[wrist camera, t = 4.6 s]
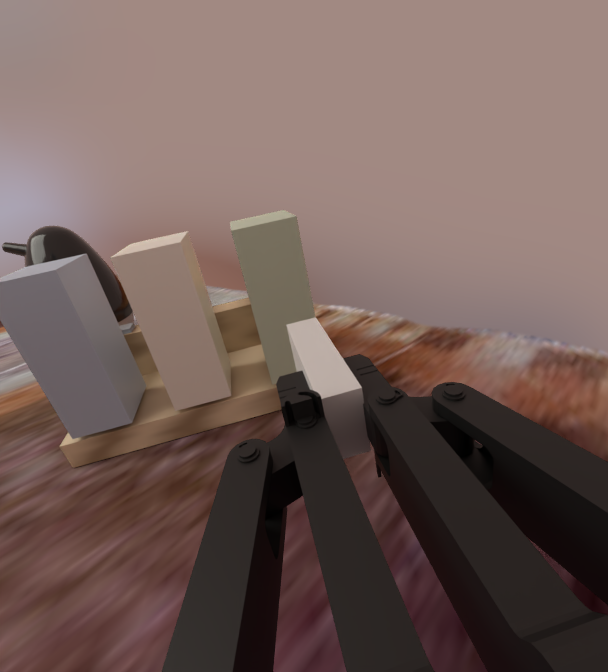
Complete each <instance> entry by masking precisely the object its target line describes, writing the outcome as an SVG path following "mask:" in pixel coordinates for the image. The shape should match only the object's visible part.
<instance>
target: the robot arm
mask: <svg viewBox="0 0 608 672" xmlns="http://www.w3.org/2000/svg"><path fill="white" fill-rule="evenodd" d="M286 326H287V331H288V335H289V339H290V344H291V348H292V352H293V357H294V361H295V366H296V370H297V372H294V373H291V374H287V375H283V376H280V377H279V378H278V381H277V383H276V386H277V391H278V395H279V399H280V403H281V409H282V413H283V417H284V421H285V426H284V429H283V431H282V432H281V433H280V434H279V435H278V436H277V437H276V438H275V439H273V440H272V441H270V442H268V443H266V442H265V441H263V440H260V439H250V440H246V441H243V442H241V443H239V444H238V445H236V446H235V447H234V448H233V449H232V450H231V451H230V453H229V455H228V457H227V460H226V463H225V467H224V470H223V473H222V476H221V480H220V483H219V486H218V489H217V493H216V496H215V499H214V502H213V506H212V509H211V512H210V516H209V519H208V522H207V525H206V529H205V532H204V535H203V538H202V542H201V545H200V548H199V551H198V555H197V558H196V561H195V565H194V568H193V571H192V574H191V578H190V581H189V584H188V587H187V591H186V594H185V597H184V600H183V604H182V607H181V610H180V614H179V617H178V620H177V623H176V627H175V630H174V633H173V636H172V640H171V643H170V646H169V649H168V653H167V656H166V659H165V662H164V666H163V669H162V672H273V665H274V654H275V642H276V631H277V620H278V608H279V597H280V586H281V574H282V563H283V551H284V540H285V529H286V517H287V506H288V505H289V504H291V503H292V502H294V501H295V500H297V499H298V498H300V497H301V496H303V497H304V501H305V505H306V509H307V513H308V517H309V521H310V525H311V529H312V533H313V537H314V541H315V545H316V550H317V554H318V558H319V562H320V566H321V570H322V574H323V578H324V582H325V586H326V590H327V594H328V598H329V602H330V606H331V610H332V614H333V618H334V622H335V626H336V630H337V634H338V638H339V642H340V646H341V650H342V654H343V658H344V663H345V667H346V671H347V672H435V671H434V670H433V668H432V666H431V665H430V663H429V660H428V658H427V656H426V654H425V651H424V649H423V647H422V644H421V642H420V640H419V637H418V635H417V632H416V630H415V628H414V625H413V623H412V621H411V618H410V616H409V614H408V611H407V609H406V606H405V604H404V602H403V599H402V597H401V595H400V592H399V590H398V588H397V585H396V583H395V581H394V578H393V576H392V573H391V571H390V569H389V566H388V564H387V562H386V559H385V557H384V555H383V552H382V550H381V547H380V545H379V543H378V540H377V538H376V536H375V533H374V531H373V529H372V526H371V524H370V522H369V519H368V517H367V514H366V512H365V510H364V507H363V505H362V503H361V500H360V498H359V496H358V493H357V491H356V489H355V486H354V484H353V481H352V479H351V477H350V474H349V472H348V470H347V467H346V465H345V463H344V460H343V459H345V458H348V457H351V456H355V455H358V454H361V453H365V452H368V451H371V450H370V442H371V444H372V446H373V447H374V452H375V460H376V467H377V474H378V477H381V471H382V473H383V475H384V477H385V479H386V481H387V482H388V484H389V486H390V488H391V490H392V492H393V494H394V496H395V498H396V499H397V501H398V503H399V505H400V507H401V509H402V511H403V513H404V514H405V516H406V518H407V520H408V522H409V524H410V526H411V528H412V530H413V531H414V533H415V535H416V537H417V539H418V541H419V543H420V545H421V547H422V548H423V550H424V552H425V554H426V556H427V558H428V560H429V562H430V564H431V565H432V567H433V569H434V571H435V573H436V575H437V577H438V579H439V580H440V582H441V584H442V586H443V588H444V590H445V592H446V594H447V596H448V597H449V599H450V601H451V603H452V605H453V607H454V609H455V611H456V613H457V614H458V616H459V618H460V620H461V622H462V624H463V626H464V628H465V630H466V631H467V633H468V635H469V637H470V639H471V641H472V643H473V645H474V646H475V648H476V650H477V652H478V654H479V656H480V658H481V660H482V662H483V663H484V665H485V667H486V669H487V671H488V672H608V615H605V614H601V613H597V612H593V611H591V610H590V609H588V608H587V607H586V606H585V605H584V604H583V603H582V602H581V601H580V600H579V599H578V598H577V597H576V596H575V594H574V593H573V592H572V591H571V590H570V589H569V587H568V586H567V585H566V584H565V583H564V581H563V580H562V579H561V578H560V577H559V575H558V574H557V573H556V572H555V571H554V569H553V568H552V567H551V566H550V565H549V563H548V562H547V561H546V560H545V559H544V558H543V556H542V555H541V554H540V553H539V552H538V550H537V549H536V548H535V547H534V546H533V544H532V543H531V542H530V541H529V540H528V538H529V539H530V540H531V541H533V542H534V543H535V544H536V545H537V546H539V547H540V548H541V549H542V550H543V551H544V552H546V553H547V554H548V555H549V556H550V557H552V558H553V559H554V560H555V561H556V562H558V563H559V564H560V565H561V566H562V567H563V568H565V569H566V570H567V571H568V572H569V573H571V574H572V575H573V576H574V577H575V578H576V579H578V580H579V581H580V582H581V583H582V584H584V585H585V586H586V587H587V588H588V589H589V590H591V591H592V592H593V593H594V594H595V595H597V596H598V597H599V598H600V599H601V600H602V601H604V602H605V603H606V604H607V605H608V462H606V461H605V460H603V459H601V458H599V457H597V456H596V455H594V454H592V453H590V452H588V451H586V450H585V449H583V448H581V447H579V446H577V445H575V444H574V443H572V442H570V441H568V440H566V439H564V438H563V437H561V436H559V435H557V434H555V433H553V432H552V431H550V430H548V429H546V428H544V427H542V426H541V425H539V424H537V423H535V422H533V421H531V420H530V419H528V418H526V417H524V416H522V415H521V414H519V413H517V412H515V411H513V410H511V409H510V408H508V407H506V406H504V405H502V404H500V403H499V402H497V401H495V400H493V399H491V398H489V397H488V396H486V395H484V394H482V393H480V392H478V391H477V390H475V389H473V388H471V387H469V386H467V385H464V384H462V383H456V382H448V383H443V384H439V385H437V386H436V387H435V388H434V389H433V391H432V396H430V397H408V395H407V394H406V393H405V392H404V391H402V390H401V389H398V388H395V387H391V386H390V384H389V383H388V382H387V381H386V379H385V378H384V377H383V376H382V374H381V373H380V372H379V371H378V369H377V368H376V367H375V366H374V364H373V363H372V362H371V361H370V359H369V358H367V357H365V356H363V355H360V354H358V355H354V356H351V357H347V358H342V356H341V355H340V353H339V352H338V350H337V349H336V347H335V346H334V344H333V343H332V341H331V340H330V338H329V337H328V335H327V334H326V332H325V331H324V329H323V327H322V326H321V324H320V323H319V321H318V320H317V318H316V317H315V318H311V319H307V320H303V321H299V322H295V323H292V324H288V325H286ZM369 440H370V442H369ZM475 440H476V441H478V442H479V443H480V444H479V443H477V442H476V441H475ZM481 444H482V445H481ZM525 535H526V536H527V537H528V538H527V537H526V536H525Z"/></svg>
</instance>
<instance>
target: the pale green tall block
mask: <svg viewBox="0 0 608 672" xmlns="http://www.w3.org/2000/svg"><path fill="white" fill-rule="evenodd" d="M230 227H231V232H232V236H233V240H234V244H235V247H236V251H237V255H238V259H239V262H240V266H241V270H242V273H243V277H244V281H245V285H246V288H247V292H248V296H249V300H250V303H251V307H252V311H253V315H254V318H255V322H256V326H257V329H258V333H259V337H260V341H261V344H262V348H263V352H264V356H265V359H266V363H267V367H268V370H269V374H270V378H271V382H272V385H273V384H276V383H277V381H278V378H279V377H280V376H283V375H287V374H291V373H294V372H297V370H296V366H295V361H294V357H293V352H292V348H291V344H290V339H289V335H288V331H287V326H286V325H288V324H292V323H295V322H299V321H303V320H307V319H311V318H315V313H314V308H313V302H312V297H311V291H310V286H309V281H308V275H307V270H306V265H305V259H304V254H303V249H302V244H301V238H300V233H299V227H298V222H297V217H296V216H295V215H293V214H291V213H289V212H287V211H285V210H282V211H278V212H274V213H269V214H264V215H259V216H255V217H251V218H246V219H241V220H237V221H232V222H230Z"/></svg>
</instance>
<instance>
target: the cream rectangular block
mask: <svg viewBox="0 0 608 672" xmlns="http://www.w3.org/2000/svg"><path fill="white" fill-rule="evenodd" d="M110 259H111V261H112V263H113V266H114V268H115V270H116V273H117V275H118V278H119V280H120V282H121V285H122V287H123V289H124V292H125V294H126V296H127V299H128V301H129V303H130V306H131V308H132V310H133V313H134V315H135V317H136V320H137V322H138V325H139V327H140V329H141V332H142V334H143V336H144V339H145V341H146V343H147V346H148V348H149V350H150V353H151V355H152V357H153V360H154V362H155V364H156V367H157V369H158V371H159V374H160V376H161V379H162V381H163V383H164V386H165V388H166V390H167V393H168V395H169V397H170V400H171V402H172V404H173V407H174V409H175V411H178V410H182V409H185V408H189V407H193V406H196V405H200V404H204V403H207V402H211V401H215V400H218V399H222V398H226V397H229V396H231V364H230V360H229V357H228V354H227V351H226V348H225V345H224V342H223V339H222V335H221V332H220V329H219V326H218V323H217V320H216V317H215V314H214V310H213V307H212V304H211V301H210V298H209V295H208V292H207V288H206V285H205V282H204V279H203V276H202V273H201V270H200V267H199V263H198V260H197V257H196V254H195V251H194V248H193V245H192V242H191V239H190V235H189V232H188V231H187V232H182V233H178V234H173V235H168V236H164V237H159V238H155V239H150V240H146V241H141V242H137V243H132V244H130V245H128V246H127V247H125V248H124V249H123V250H121V251H119V252H118V253H116V254H115V255H113V256H112V257H110Z"/></svg>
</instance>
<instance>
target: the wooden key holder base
mask: <svg viewBox="0 0 608 672" xmlns="http://www.w3.org/2000/svg"><path fill="white" fill-rule="evenodd" d="M213 310H214V314H215V317H216V320H217V323H218V326H219V329H220V332H221V335H222V339H223V342H224V345H225V348H226V351H227V354H228V357H229V360H230V364H231V396H229V397H226V398H222V399H218V400H215V401H211V402H207V403H204V404H200V405H196V406H193V407H189V408H185V409H182V410H178V411H175V409H174V407H173V404H172V402H171V400H170V397H169V395H168V393H167V390H166V388H165V386H164V383H163V381H162V379H161V376H160V374H159V371H158V369H157V367H156V364H155V362H154V360H153V357H152V355H151V353H150V350H149V348H148V346H147V343H146V341H145V339H144V336H143V334H142V332H141V329H140V327H139V325H134V323H129V324H125V325H121V326H120V328H121V331H122V333H123V335H124V337H125V339H126V342H127V344H128V346H129V348H130V351H131V353H132V355H133V357H134V359H135V362H136V364H137V366H138V368H139V370H140V373H141V375H142V377H143V379H144V381H145V384H146V388H145V391H144V393H143V396H142V399H141V401H140V404H139V406H138V409H137V412H136V414H135V417H134V419H133V422H132V423H130V424H127V425H123V426H119V427H116V428H112V429H108V430H105V431H101V432H97V433H94V434H90V435H86V436H83V437H79V438H75V439H72V437H71V436H70V434H69V433H68V434H67V435H66V437H65V439H64V440H63V442H62V444H61V445H60V448H61V450H62V451H63V453H64V455H65V456H66V458H67V459H68V461H69V462H70V464H71V466H72V467H73V468H75V467H79V466H82V465H86V464H89V463H93V462H96V461H100V460H103V459H107V458H111V457H114V456H118V455H121V454H125V453H128V452H132V451H135V450H139V449H143V448H146V447H150V446H153V445H157V444H160V443H164V442H167V441H171V440H175V439H178V438H182V437H185V436H189V435H192V434H196V433H199V432H203V431H207V430H210V429H214V428H217V427H221V426H224V425H228V424H231V423H235V422H239V421H242V420H246V419H249V418H253V417H256V416H260V415H263V414H267V413H271V412H274V411H278V410H281V403H280V399H279V395H278V391H277V386H276V384H273V385H272V382H271V378H270V374H269V370H268V367H267V363H266V359H265V356H264V352H263V348H262V344H261V341H260V337H259V333H258V329H257V326H256V322H255V318H254V315H253V311H252V307H251V303H250V300H249V298H245V299H241V300H237V301H233V302H229V303H225V304H221V305H217V306H213Z"/></svg>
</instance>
